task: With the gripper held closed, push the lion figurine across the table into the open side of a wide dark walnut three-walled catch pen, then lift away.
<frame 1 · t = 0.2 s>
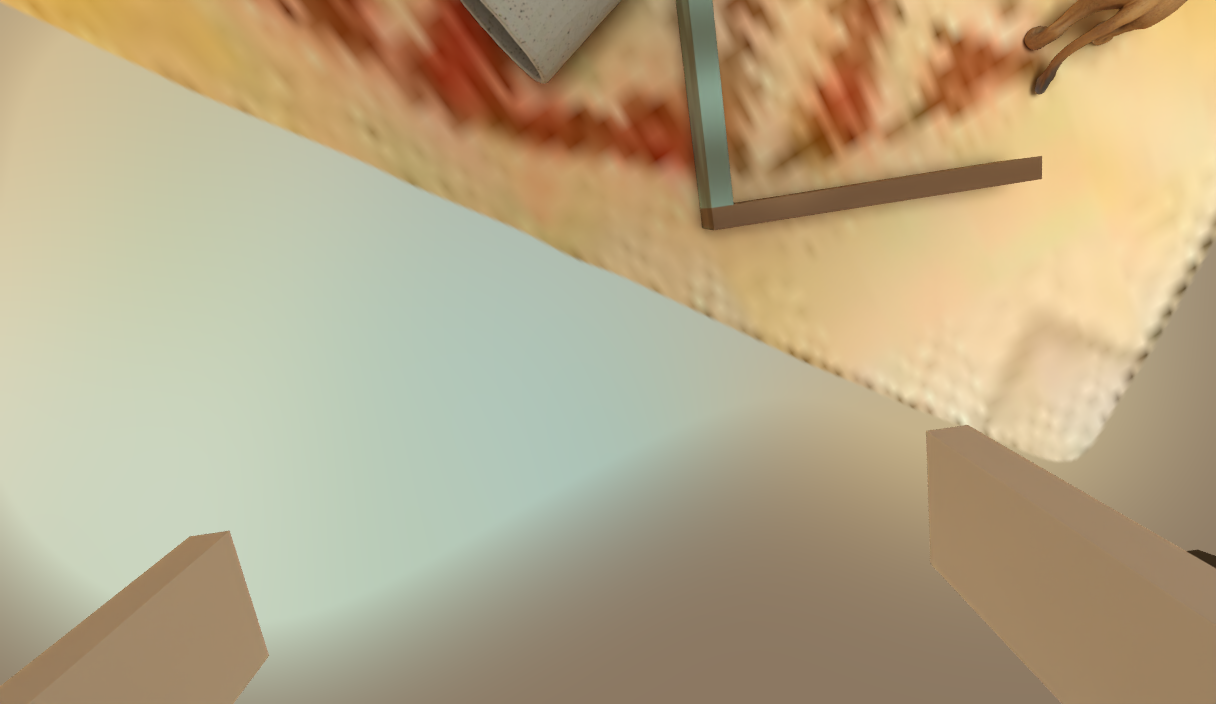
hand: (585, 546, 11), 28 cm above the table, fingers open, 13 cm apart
catch pen: (837, 28, 35), on the table
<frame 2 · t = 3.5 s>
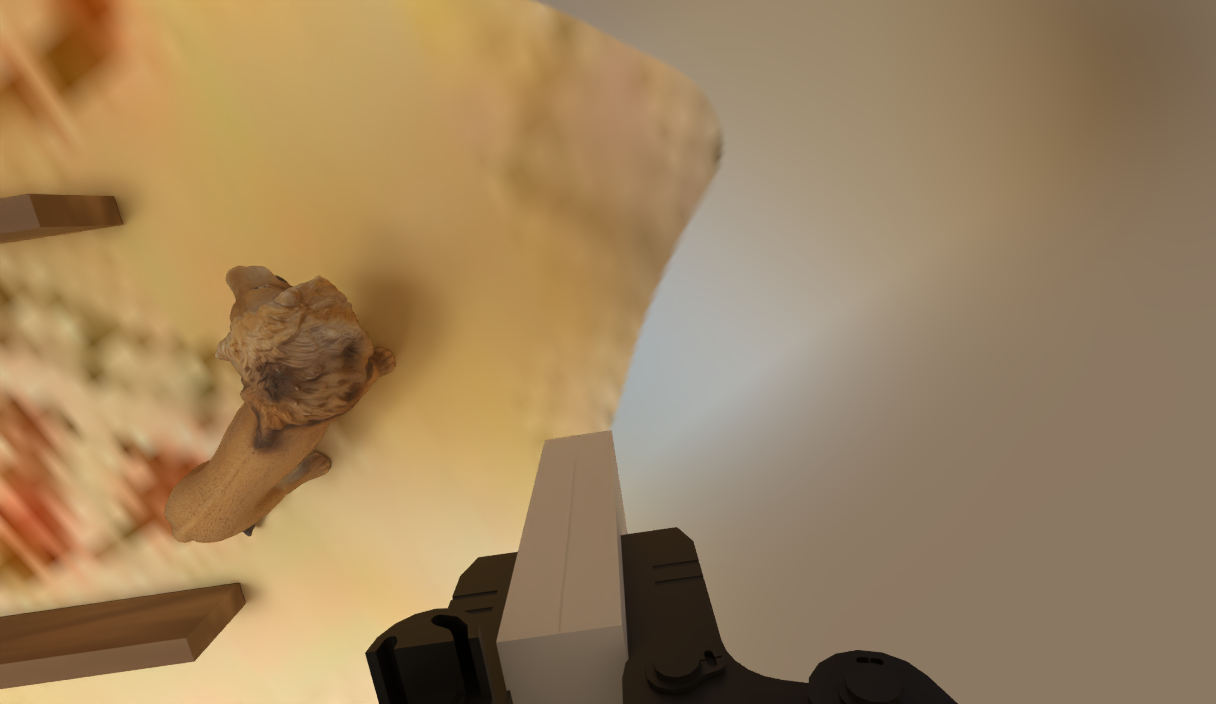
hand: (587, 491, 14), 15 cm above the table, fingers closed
lion figurine: (316, 389, 28), on the table
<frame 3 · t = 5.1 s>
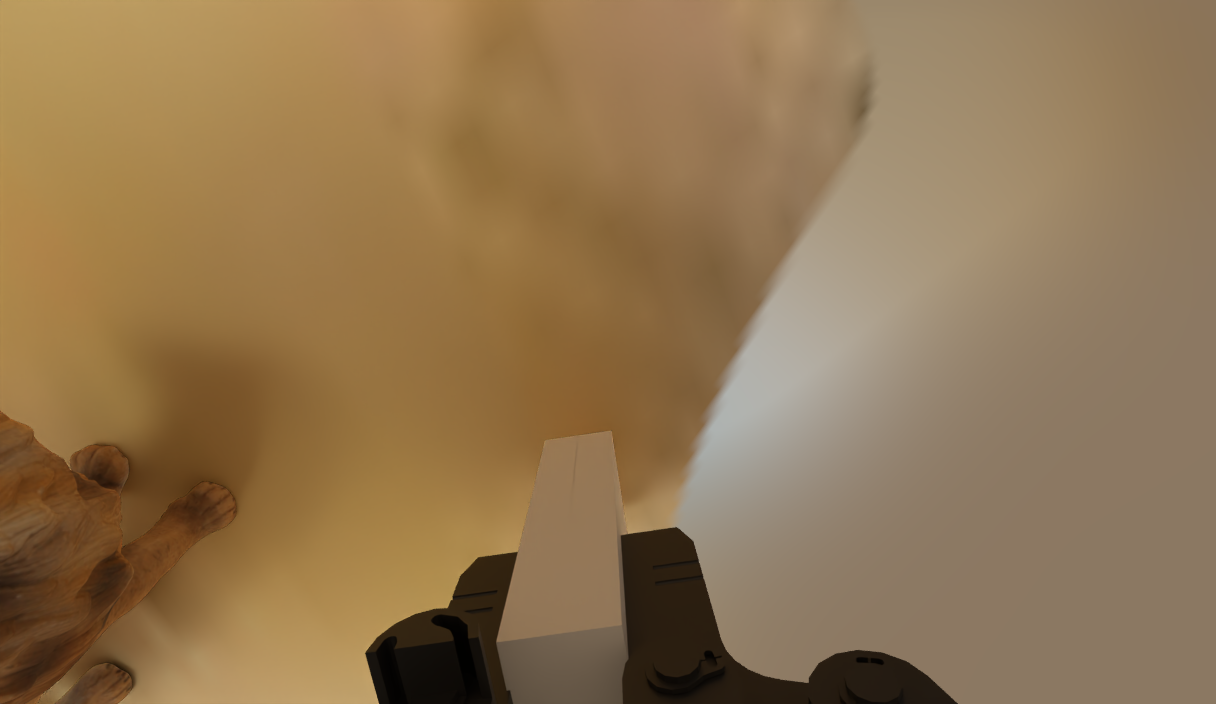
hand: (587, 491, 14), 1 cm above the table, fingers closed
lion figurine: (99, 552, 16), on the table
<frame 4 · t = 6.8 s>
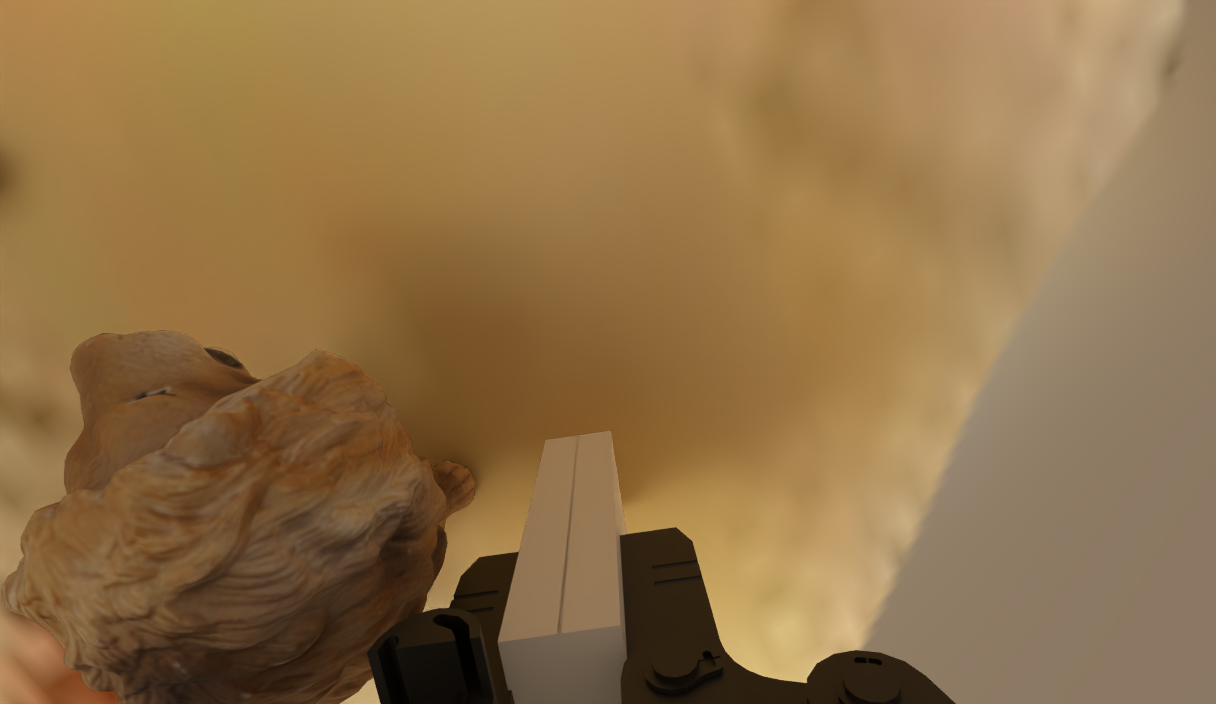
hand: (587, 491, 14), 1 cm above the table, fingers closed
lion figurine: (331, 535, 16), on the table, touching gripper
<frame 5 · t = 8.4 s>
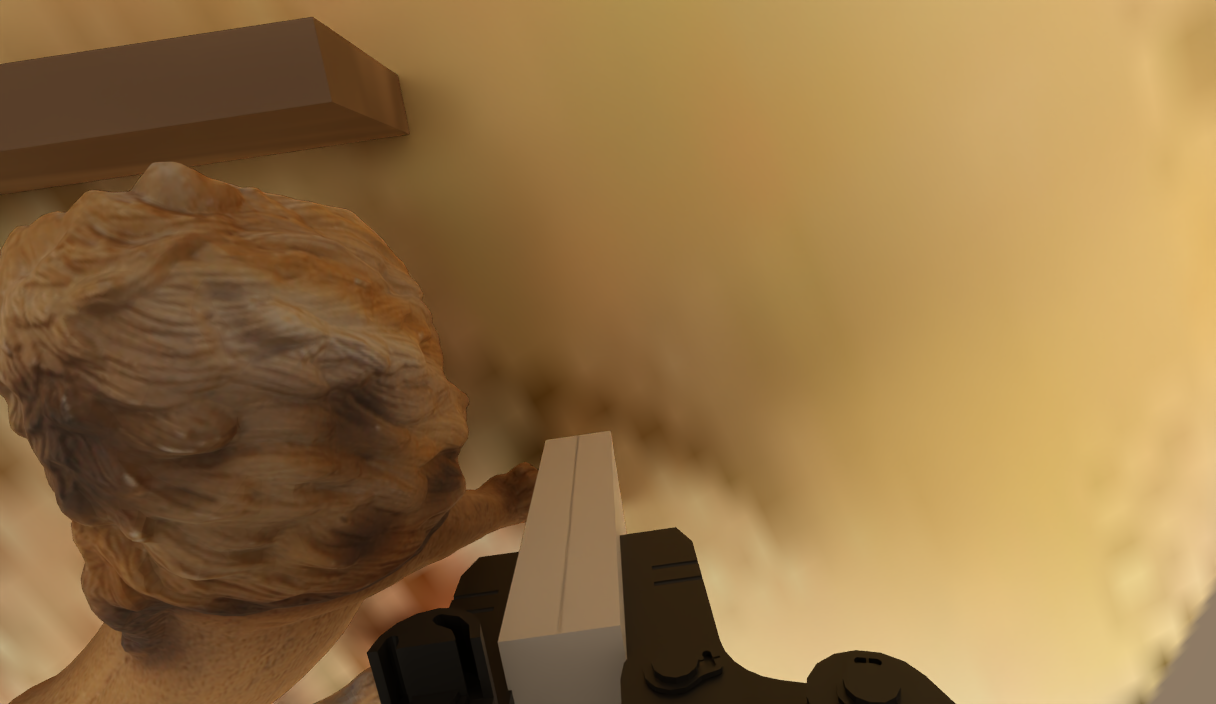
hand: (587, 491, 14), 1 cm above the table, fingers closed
catch pen: (131, 551, 15), on the table
lion figurine: (410, 533, 15), point 1 cm above the table, touching gripper
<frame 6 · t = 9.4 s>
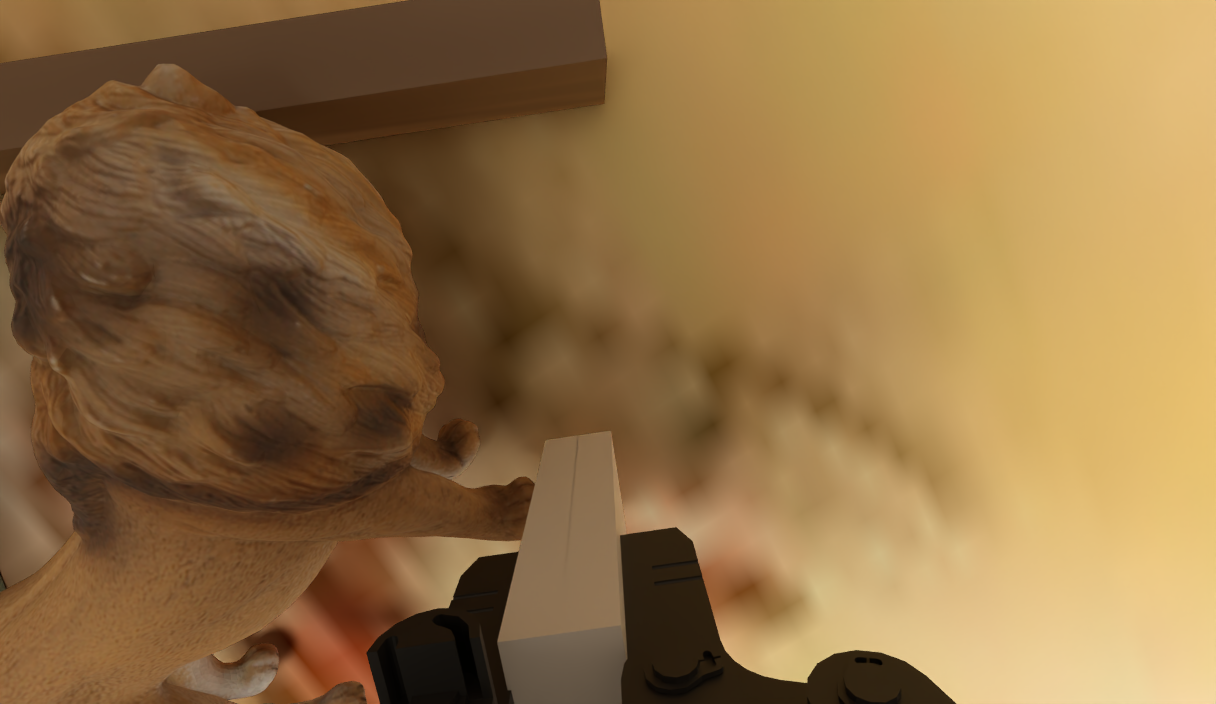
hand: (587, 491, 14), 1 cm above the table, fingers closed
catch pen: (300, 526, 15), on the table
lion figurine: (418, 547, 14), point 1 cm above the table, touching gripper
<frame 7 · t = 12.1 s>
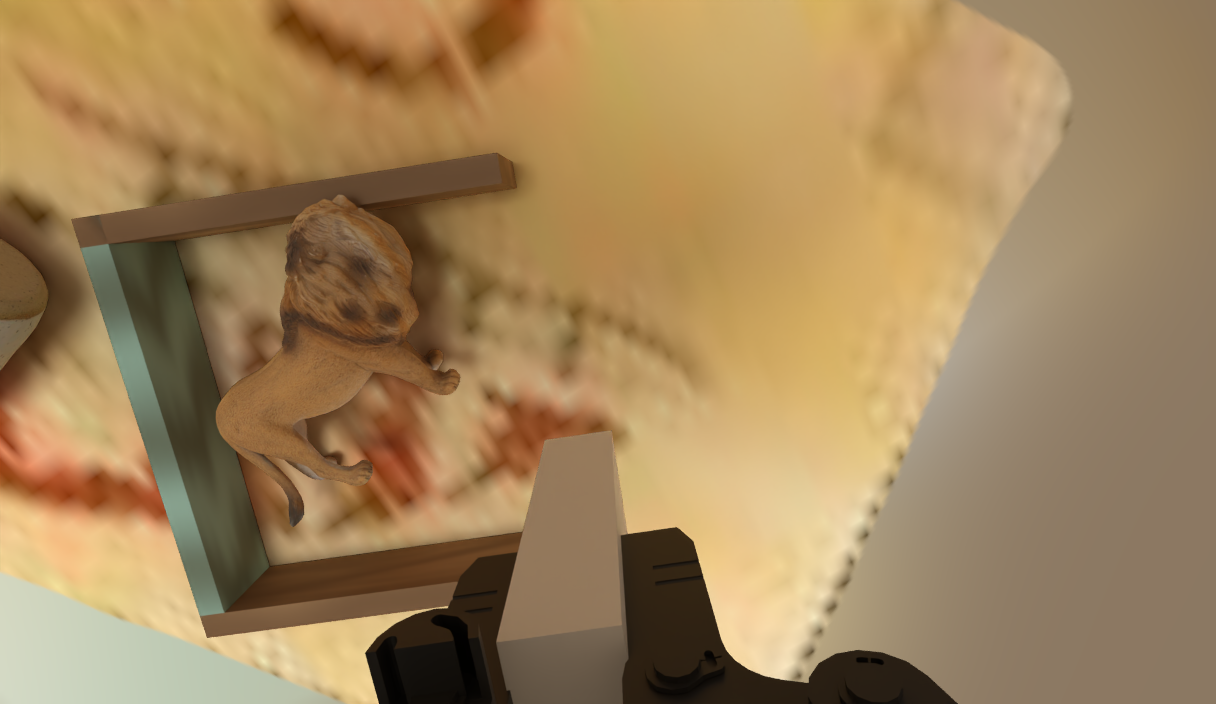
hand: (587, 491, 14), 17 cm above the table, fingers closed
catch pen: (373, 391, 31), on the table
lion figurine: (408, 409, 30), point 1 cm above the table, touching catch pen
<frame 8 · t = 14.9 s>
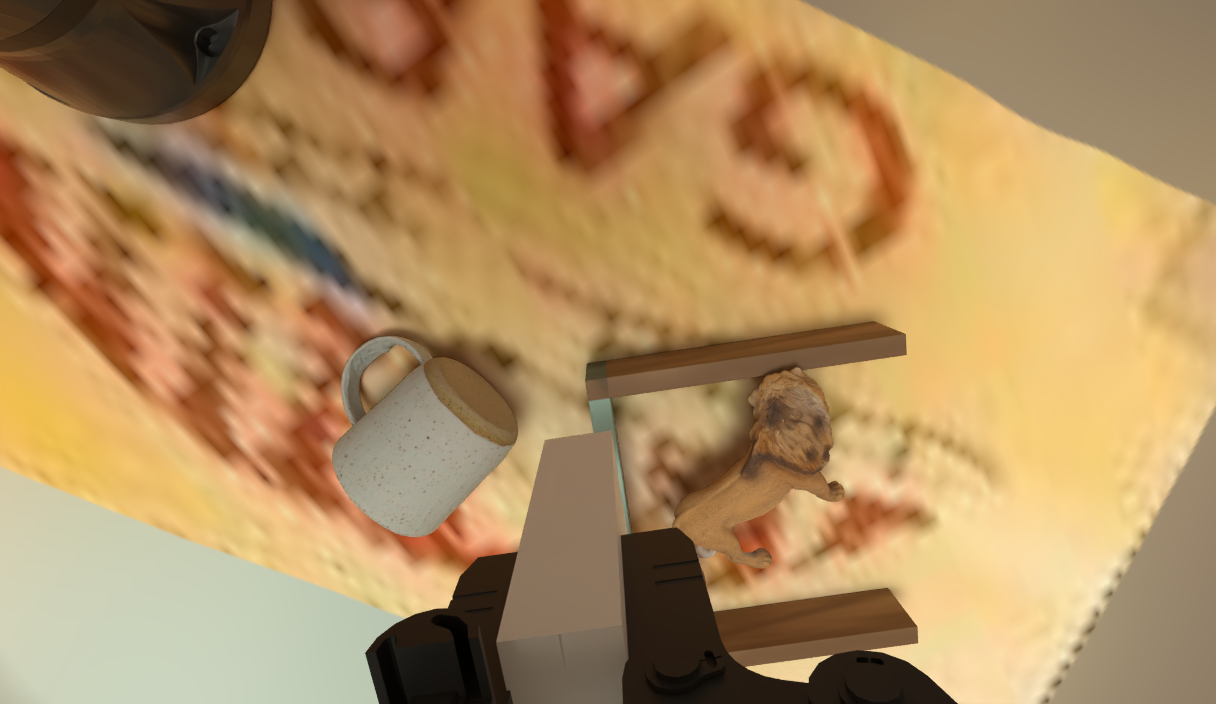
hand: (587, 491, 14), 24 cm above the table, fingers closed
catch pen: (745, 489, 40), on the table
ceramic mug: (429, 408, 39), on the table
lion figurine: (782, 506, 39), point 1 cm above the table, touching catch pen
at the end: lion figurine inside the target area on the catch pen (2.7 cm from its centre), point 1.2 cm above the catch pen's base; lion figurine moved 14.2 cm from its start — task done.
